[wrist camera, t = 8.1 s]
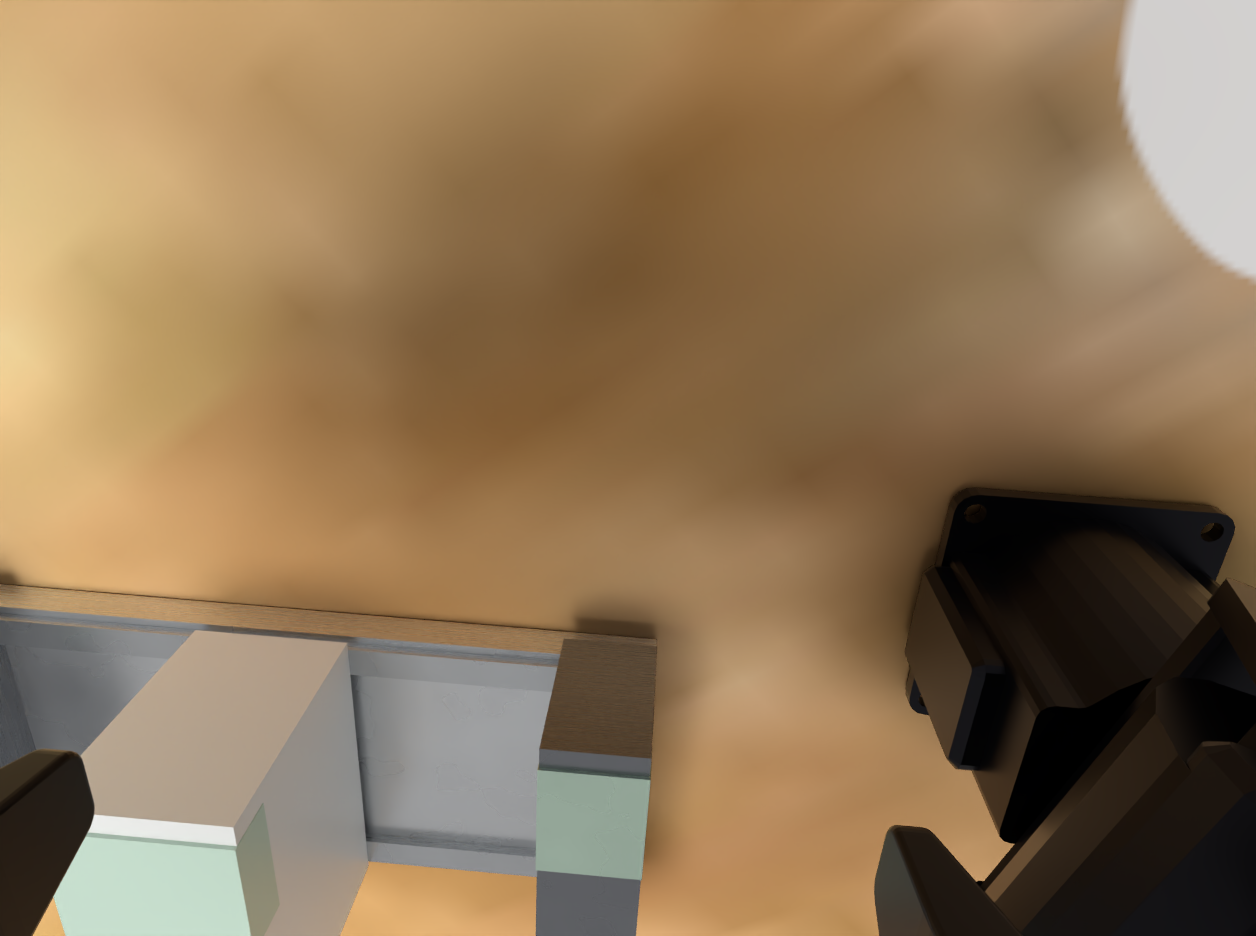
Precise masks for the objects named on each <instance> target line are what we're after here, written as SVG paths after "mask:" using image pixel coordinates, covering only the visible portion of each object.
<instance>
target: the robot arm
mask: <svg viewBox="0 0 1256 936" xmlns="http://www.w3.org/2000/svg"><path fill="white" fill-rule="evenodd" d="M975 504H979V505H981V508H980V510H979V512H978V513H976V514H975V515H971V516H967V515H965V511H966V509H967V508H968V507H970V506H971V505H975ZM1210 523H1214V526H1213V527H1212V528H1211V530H1209V531H1208V532H1206V533H1202V534H1201V531H1202V529H1203V528H1204V527H1205V526H1206V525H1208V524H1210ZM1234 531H1235V525H1234V522H1233V520H1232V519H1231V518H1230V517H1229V516H1227V515H1226V514H1225V513H1224V512H1222V511H1221V510H1220V509H1218V508H1216V507H1213V506H1207V505H1194V504H1181V503H1168V502H1155V501H1142V500H1129V499H1116V498H1103V497H1090V496H1077V495H1064V494H1051V493H1038V492H1025V491H1012V490H999V489H986V488H966V489H964V490H962V491H960V492H958V493H957V494H956V495H955V496H954V497H953V498H952V500H951V502H950V505H949V509H948V513H947V517H946V521H945V525H944V530H943V534H942V538H941V542H940V546H939V551H938V555H937V559H936V563H935V565H932V566H931V567H930V568H928V569H927V570H926V571H925V572H924V573H923V575H922V579H921V583H920V588H919V592H918V596H917V601H916V605H915V609H914V614H913V618H912V622H911V627H910V631H909V635H908V639H907V644H906V648H905V655H906V658H907V660H908V663H909V665H910V672H909V677H908V681H907V685H906V696H907V698H908V701H909V704H910V706H911V707H912V709H913V710H915V711H916V712H917V713H921V714H925V715H929V716H930V719H931V721H932V724H933V726H934V729H935V731H936V734H937V736H938V739H939V741H940V744H941V746H942V749H943V751H944V754H945V756H946V758H947V760H948V761H949V762H950V763H951V764H952V765H953V767H954V768H955V769H960V770H971V771H972V773H973V775H974V777H975V780H976V782H977V784H978V787H979V789H980V792H981V794H982V796H983V799H984V801H985V803H986V806H987V808H988V810H989V813H990V815H991V817H992V820H993V822H994V824H995V827H996V829H997V831H998V834H999V836H1000V837H1001V839H1002V840H1003V841H1005V842H1008V843H1013V844H1015V845H1014V846H1013V847H1012V848H1011V849H1010V851H1009V852H1008V853H1007V854H1006V855H1005V857H1004V858H1003V859H1002V860H1001V861H1000V863H999V864H998V865H997V866H996V867H995V869H994V870H993V871H992V872H991V873H990V875H989V876H988V877H987V878H986V879H985V881H977V882H976V881H975V880H974V879H973V878H972V877H971V875H970V874H969V873H968V872H967V871H966V870H965V869H964V868H963V866H962V865H961V864H960V863H959V862H958V861H957V860H956V858H955V857H954V856H953V855H952V854H951V853H950V852H949V850H948V849H947V848H946V847H945V846H944V845H943V844H942V842H941V841H940V840H939V839H938V838H937V837H936V836H935V835H934V834H933V833H932V832H931V831H930V830H928V829H926V828H923V827H912V826H901V825H894V826H891V827H890V828H889V830H888V831H887V833H886V837H885V841H884V845H883V849H882V853H881V857H880V861H879V865H878V869H877V873H876V877H875V886H874V895H875V906H876V914H877V922H878V930H879V936H1256V588H1253V587H1251V586H1248V585H1246V584H1244V583H1241V582H1239V581H1236V580H1234V579H1231V578H1226V579H1225V581H1224V582H1223V583H1222V584H1221V586H1220V585H1219V584H1218V583H1217V582H1215V580H1216V578H1217V575H1218V573H1219V570H1220V568H1221V565H1222V563H1223V560H1224V558H1225V555H1226V553H1227V550H1228V548H1229V545H1230V543H1231V540H1232V538H1233V535H1234ZM920 695H921V696H922V697H920ZM94 811H95V805H94V800H93V796H92V792H91V789H90V785H89V781H88V778H87V774H86V770H85V766H84V763H83V760H82V758H81V757H80V755H79V754H78V753H77V752H74V751H68V750H56V749H38V750H35V751H32V752H30V753H28V754H26V755H24V756H22V757H20V758H19V759H17V760H15V761H13V762H11V763H9V764H7V765H5V766H3V767H1V768H0V936H33V934H34V932H35V930H36V928H37V926H38V924H39V923H40V921H41V919H42V917H43V915H44V913H45V911H46V910H47V908H48V906H49V904H50V902H51V900H52V898H53V896H54V895H55V893H56V891H57V889H58V887H59V885H60V883H61V882H62V880H63V878H64V876H65V874H66V872H67V870H68V869H69V867H70V865H71V863H72V861H73V859H74V857H75V856H76V854H77V852H78V850H79V848H80V846H81V844H82V842H83V841H84V839H85V837H86V835H87V833H88V831H89V829H90V827H91V824H92V821H93V818H94Z"/></svg>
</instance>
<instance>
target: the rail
mask: <svg viewBox="0 0 1256 936" xmlns="http://www.w3.org/2000/svg"><path fill="white" fill-rule="evenodd" d="M195 630H201V631H212V632H224V633H236V634H248V635H260V636H272V637H283V638H295V639H307V640H319V641H331V642H342V643H347V646H348V657H349V667H350V677H351V688H352V698H353V709H354V719H355V729H356V740H357V750H358V761H359V771H360V781H361V792H362V802H363V813H364V823H365V834H366V844H367V854H368V861H372V862H382V863H393V864H404V865H414V866H425V867H436V868H446V869H457V870H468V871H478V872H489V873H500V874H511V875H521V876H532V877H537V898H536V936H636V926H637V915H638V904H639V892H640V881H641V880H642V870H643V859H644V848H645V837H646V825H647V814H648V803H649V792H650V781H651V761H652V736H653V716H654V696H655V676H656V656H657V646H656V644H657V639H646V638H634V637H622V636H610V635H598V634H586V633H574V632H562V631H550V630H538V629H527V628H515V627H503V626H491V625H479V624H467V623H455V622H443V621H431V620H419V619H407V618H395V617H384V616H372V615H360V614H348V613H336V612H324V611H312V610H300V609H288V608H276V607H264V606H252V605H241V604H229V603H217V602H205V601H193V600H181V599H169V598H157V597H145V596H133V595H121V594H110V593H98V592H86V591H74V590H62V589H50V588H38V587H26V586H14V585H2V584H0V768H1V767H3V766H5V765H7V764H9V763H11V762H13V761H15V760H17V759H19V758H20V757H22V756H24V755H26V754H28V753H30V752H32V751H35V750H38V749H56V750H68V751H74V752H77V753H78V754H79V755H80V756H81V754H82V753H83V752H84V751H85V750H86V749H87V748H88V747H89V746H90V745H91V744H92V742H93V741H94V740H95V739H96V738H97V737H98V736H99V735H100V734H101V733H102V732H103V730H104V729H105V728H106V727H107V726H108V725H109V724H110V723H111V722H112V721H113V720H114V718H115V717H116V716H117V715H118V714H119V713H120V712H121V711H122V710H123V709H124V708H125V706H126V705H127V704H128V703H129V702H130V701H131V700H132V699H133V698H134V697H135V695H136V694H137V693H138V692H139V691H140V690H141V689H142V688H143V687H144V686H145V685H146V683H147V682H148V681H149V680H150V679H151V678H152V677H153V676H154V675H155V674H156V673H157V671H158V670H159V669H160V668H161V667H162V666H163V665H164V664H165V663H166V662H167V661H168V659H169V658H170V657H171V656H172V655H173V654H174V653H175V652H176V651H177V650H178V649H179V647H180V646H181V645H182V644H183V643H184V642H185V641H186V640H187V639H188V638H189V636H190V635H191V634H192V633H193V632H194V631H195Z"/></svg>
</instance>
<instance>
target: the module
mask: <svg viewBox="0 0 1256 936" xmlns="http://www.w3.org/2000/svg"><path fill="white" fill-rule="evenodd" d="M80 757H81V758H82V760H83V763H84V766H85V770H86V774H87V778H88V781H89V785H90V789H91V792H92V796H93V800H94V805H95V811H94V818H93V821H92V824H91V827H90V829H89V831H88V833H87V835H86V837H85V839H84V841H83V842H82V844H81V846H80V848H79V850H78V852H77V854H76V856H75V857H74V859H73V861H72V863H71V865H70V867H69V869H68V870H67V872H66V874H65V876H64V878H63V880H62V882H61V883H60V885H59V887H58V889H57V891H56V893H55V895H54V896H53V897H54V900H55V903H56V906H57V910H58V913H59V916H60V919H61V922H62V925H63V929H64V932H65V935H66V936H340V934H341V932H342V929H343V927H344V924H345V922H346V920H347V917H348V915H349V912H350V910H351V907H352V905H353V903H354V900H355V898H356V895H357V893H358V890H359V888H360V885H361V883H362V881H363V878H364V876H365V873H366V871H367V868H368V866H369V865H368V854H367V844H366V834H365V823H364V813H363V802H362V792H361V781H360V771H359V761H358V750H357V740H356V729H355V719H354V709H353V698H352V688H351V677H350V667H349V657H348V646H347V643H342V642H331V641H319V640H307V639H295V638H283V637H272V636H260V635H248V634H236V633H224V632H212V631H201V630H195V631H194V632H193V633H192V634H191V635H190V636H189V638H188V639H187V640H186V641H185V642H184V643H183V644H182V645H181V646H180V647H179V649H178V650H177V651H176V652H175V653H174V654H173V655H172V656H171V657H170V658H169V659H168V661H167V662H166V663H165V664H164V665H163V666H162V667H161V668H160V669H159V670H158V671H157V673H156V674H155V675H154V676H153V677H152V678H151V679H150V680H149V681H148V682H147V683H146V685H145V686H144V687H143V688H142V689H141V690H140V691H139V692H138V693H137V694H136V695H135V697H134V698H133V699H132V700H131V701H130V702H129V703H128V704H127V705H126V706H125V708H124V709H123V710H122V711H121V712H120V713H119V714H118V715H117V716H116V717H115V718H114V720H113V721H112V722H111V723H110V724H109V725H108V726H107V727H106V728H105V729H104V730H103V732H102V733H101V734H100V735H99V736H98V737H97V738H96V739H95V740H94V741H93V742H92V744H91V745H90V746H89V747H88V748H87V749H86V750H85V751H84V752H83V753H82V754H81V756H80Z"/></svg>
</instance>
